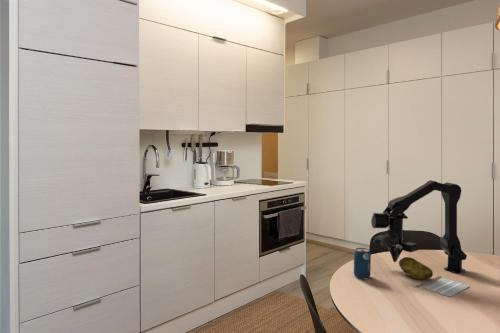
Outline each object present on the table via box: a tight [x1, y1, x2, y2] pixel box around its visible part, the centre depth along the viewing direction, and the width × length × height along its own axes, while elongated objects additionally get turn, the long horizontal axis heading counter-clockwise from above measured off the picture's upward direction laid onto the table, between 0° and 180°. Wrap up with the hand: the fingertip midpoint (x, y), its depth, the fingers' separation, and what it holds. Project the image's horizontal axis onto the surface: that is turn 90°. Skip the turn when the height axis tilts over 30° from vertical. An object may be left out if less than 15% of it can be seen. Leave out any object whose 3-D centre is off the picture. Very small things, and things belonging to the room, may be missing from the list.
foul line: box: [415, 275, 442, 288], centre depth 153 cm, size 18×1×1 cm, turn 126°
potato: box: [398, 256, 434, 280], centre depth 158 cm, size 8×13×8 cm, turn 39°
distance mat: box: [423, 277, 470, 298], centre depth 147 cm, size 16×10×1 cm, turn 126°
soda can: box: [353, 247, 372, 280], centre depth 158 cm, size 7×7×12 cm
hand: (394, 261), depth 166 cm, fingers closed
